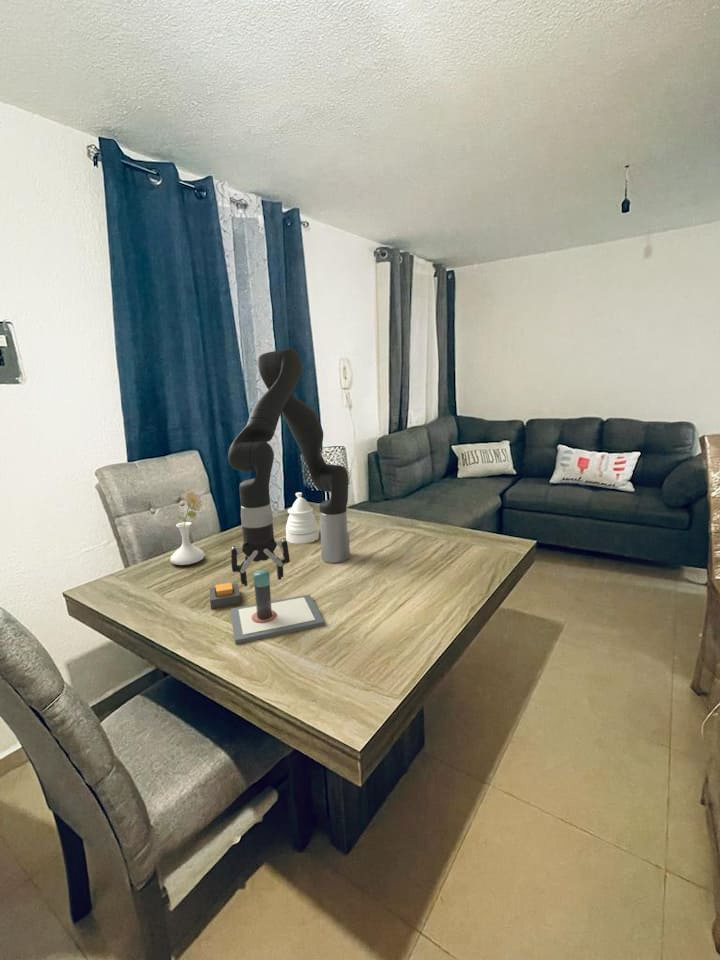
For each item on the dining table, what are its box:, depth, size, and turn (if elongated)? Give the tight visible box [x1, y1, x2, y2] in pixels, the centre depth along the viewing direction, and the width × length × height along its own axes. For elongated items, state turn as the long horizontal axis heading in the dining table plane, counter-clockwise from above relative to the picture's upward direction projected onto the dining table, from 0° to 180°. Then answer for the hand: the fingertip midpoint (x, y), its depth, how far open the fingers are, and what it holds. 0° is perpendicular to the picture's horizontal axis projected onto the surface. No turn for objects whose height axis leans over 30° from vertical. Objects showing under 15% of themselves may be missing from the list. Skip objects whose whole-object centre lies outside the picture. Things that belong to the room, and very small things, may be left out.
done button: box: [215, 582, 233, 597], centre depth 127 cm, size 4×4×2 cm
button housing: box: [209, 582, 242, 610], centre depth 127 cm, size 8×8×3 cm
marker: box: [252, 569, 272, 620], centre depth 114 cm, size 4×4×12 cm
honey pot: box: [285, 491, 320, 545], centre depth 174 cm, size 13×13×18 cm
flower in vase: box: [169, 490, 206, 566], centre depth 153 cm, size 13×11×25 cm
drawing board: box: [230, 594, 325, 645], centre depth 116 cm, size 22×16×1 cm
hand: (262, 581), depth 113 cm, fingers open, 8 cm apart
